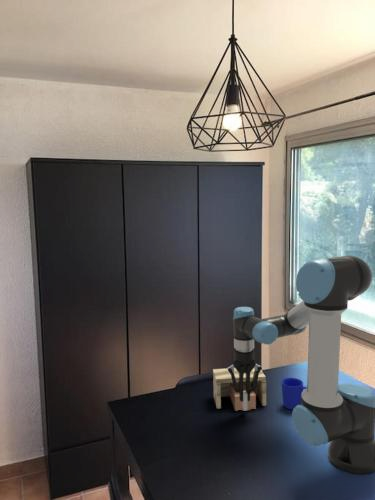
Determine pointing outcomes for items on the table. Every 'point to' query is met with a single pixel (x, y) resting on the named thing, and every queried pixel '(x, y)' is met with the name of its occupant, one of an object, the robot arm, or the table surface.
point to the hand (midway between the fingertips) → (244, 408)
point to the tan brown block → (236, 400)
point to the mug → (292, 392)
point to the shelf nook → (224, 379)
